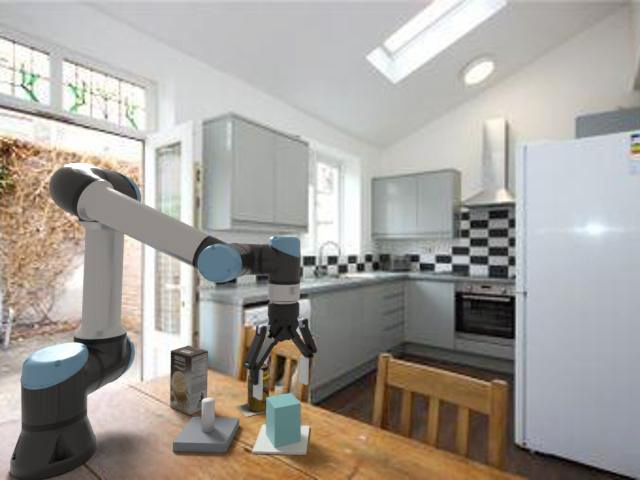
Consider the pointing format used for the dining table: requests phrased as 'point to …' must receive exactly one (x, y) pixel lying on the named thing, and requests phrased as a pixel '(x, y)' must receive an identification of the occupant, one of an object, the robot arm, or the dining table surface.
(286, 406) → the teal rectangular block
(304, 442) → the mat
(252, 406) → the condiment
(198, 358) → the coffee box
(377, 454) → the dining table surface
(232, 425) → the post base
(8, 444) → the dining table surface
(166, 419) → the dining table surface
